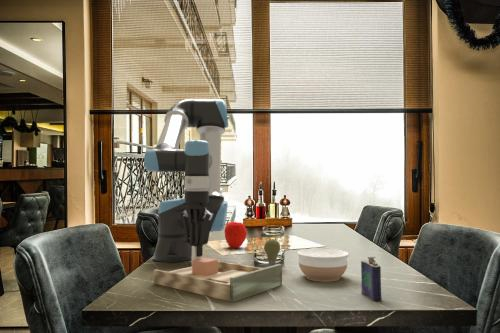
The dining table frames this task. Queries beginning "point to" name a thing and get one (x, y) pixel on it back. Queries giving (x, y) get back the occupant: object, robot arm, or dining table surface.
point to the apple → (235, 234)
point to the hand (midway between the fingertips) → (196, 266)
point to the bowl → (323, 264)
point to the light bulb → (272, 250)
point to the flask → (371, 279)
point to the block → (204, 266)
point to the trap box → (223, 280)
